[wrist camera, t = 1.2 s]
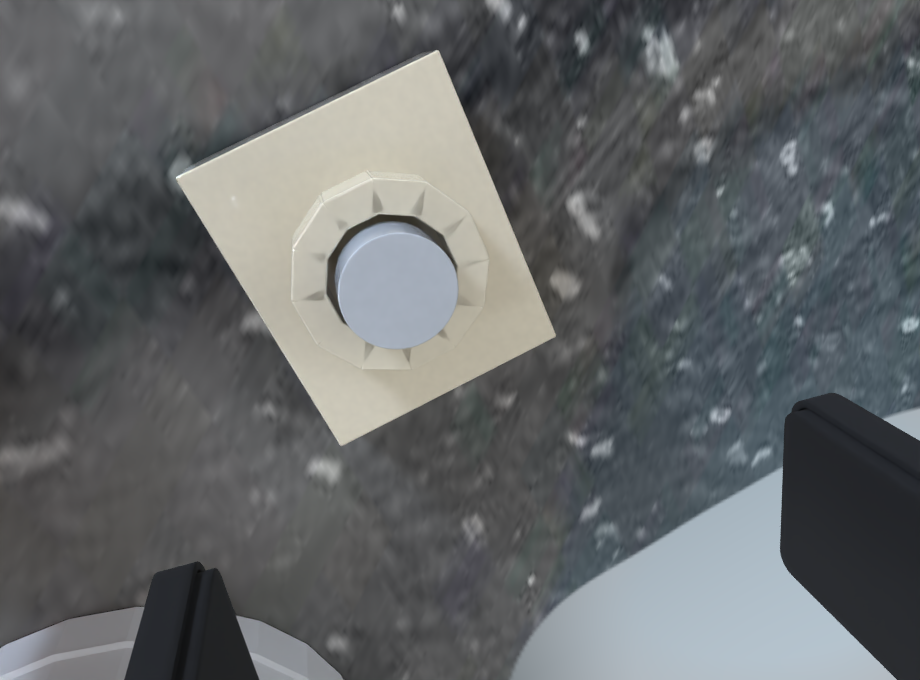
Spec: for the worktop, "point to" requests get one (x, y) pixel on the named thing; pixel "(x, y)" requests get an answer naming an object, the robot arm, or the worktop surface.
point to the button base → (355, 207)
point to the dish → (111, 643)
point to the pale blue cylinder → (395, 285)
